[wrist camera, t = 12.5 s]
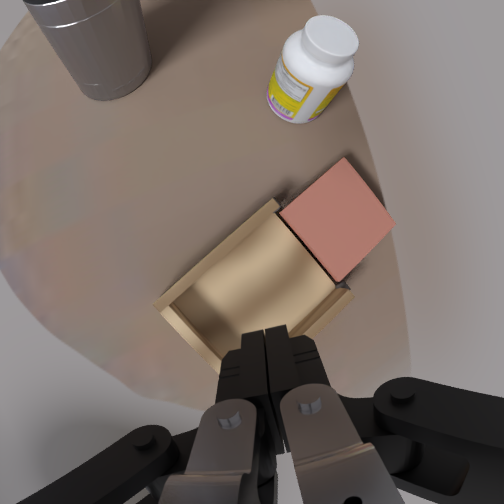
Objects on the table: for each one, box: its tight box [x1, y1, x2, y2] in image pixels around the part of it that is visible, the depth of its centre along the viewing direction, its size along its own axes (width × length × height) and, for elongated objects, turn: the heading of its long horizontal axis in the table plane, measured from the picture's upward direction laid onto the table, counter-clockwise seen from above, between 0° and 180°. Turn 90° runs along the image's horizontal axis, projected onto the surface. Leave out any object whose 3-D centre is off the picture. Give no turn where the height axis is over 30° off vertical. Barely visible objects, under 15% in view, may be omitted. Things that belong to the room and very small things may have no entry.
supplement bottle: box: [267, 15, 359, 123], centre depth 27 cm, size 7×7×13 cm
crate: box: [153, 197, 355, 374], centre depth 30 cm, size 12×15×4 cm
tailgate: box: [279, 157, 396, 282], centre depth 32 cm, size 9×1×9 cm
